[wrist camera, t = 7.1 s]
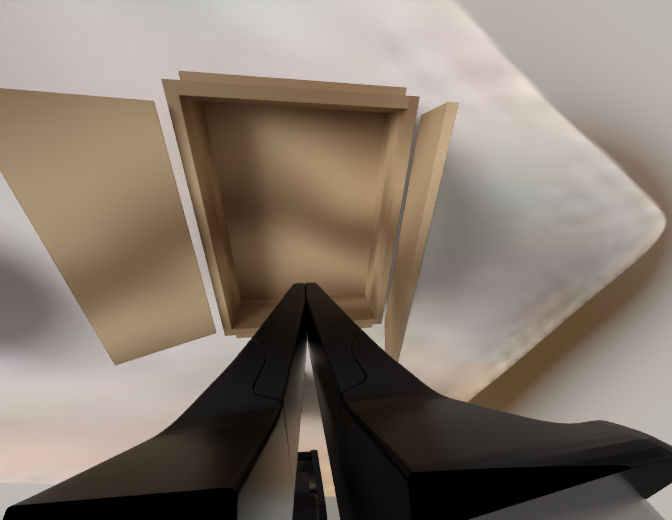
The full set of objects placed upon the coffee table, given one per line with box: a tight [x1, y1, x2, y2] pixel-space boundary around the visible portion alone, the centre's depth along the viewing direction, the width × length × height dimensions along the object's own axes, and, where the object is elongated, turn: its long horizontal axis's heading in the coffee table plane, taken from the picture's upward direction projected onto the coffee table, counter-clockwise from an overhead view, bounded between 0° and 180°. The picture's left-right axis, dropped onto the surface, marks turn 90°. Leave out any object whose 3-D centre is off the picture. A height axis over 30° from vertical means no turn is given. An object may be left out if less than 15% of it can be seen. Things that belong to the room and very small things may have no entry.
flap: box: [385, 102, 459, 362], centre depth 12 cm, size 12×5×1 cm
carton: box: [162, 71, 419, 338], centre depth 15 cm, size 15×11×4 cm
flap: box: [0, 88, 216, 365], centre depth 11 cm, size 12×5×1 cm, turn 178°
